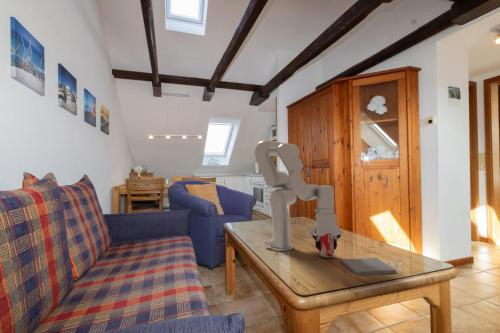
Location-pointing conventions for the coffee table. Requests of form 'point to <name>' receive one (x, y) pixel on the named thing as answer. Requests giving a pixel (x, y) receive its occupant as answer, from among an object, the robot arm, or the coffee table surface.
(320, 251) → the soda can
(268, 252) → the coffee table surface
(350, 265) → the slate board
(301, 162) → the robot arm
